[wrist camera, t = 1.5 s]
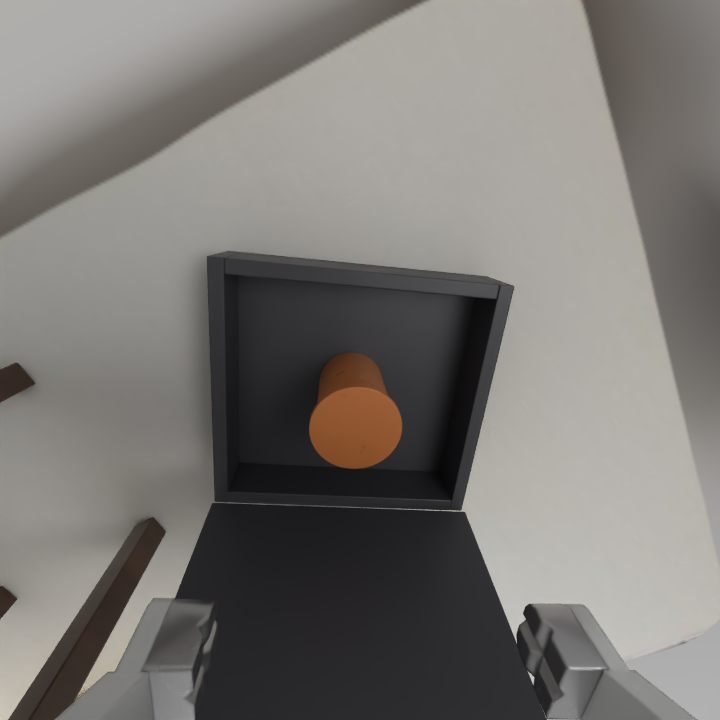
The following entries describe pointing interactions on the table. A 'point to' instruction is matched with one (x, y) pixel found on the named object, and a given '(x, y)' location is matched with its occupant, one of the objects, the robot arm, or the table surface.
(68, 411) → the table surface
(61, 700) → the shelf legs
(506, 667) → the lid
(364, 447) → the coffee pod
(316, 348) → the hinged lid box
